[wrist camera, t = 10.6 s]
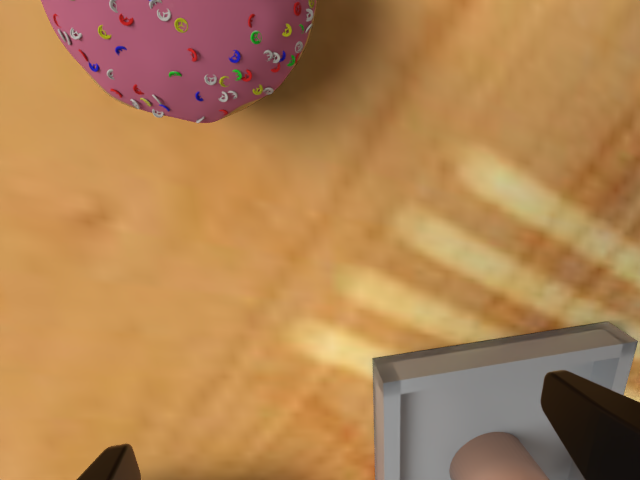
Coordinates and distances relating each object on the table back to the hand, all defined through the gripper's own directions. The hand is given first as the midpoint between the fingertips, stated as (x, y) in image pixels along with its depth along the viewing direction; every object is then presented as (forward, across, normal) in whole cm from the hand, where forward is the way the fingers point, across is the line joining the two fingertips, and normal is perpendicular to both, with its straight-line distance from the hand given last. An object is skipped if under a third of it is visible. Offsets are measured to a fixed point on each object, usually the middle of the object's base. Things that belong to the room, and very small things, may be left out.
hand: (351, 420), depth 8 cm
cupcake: (+13, +3, -10) cm, 17 cm away
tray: (+13, -12, +19) cm, 26 cm away
